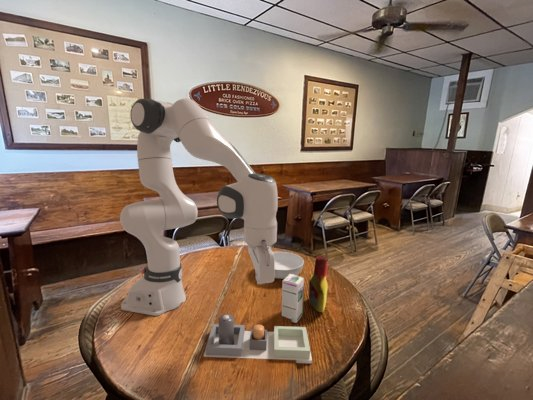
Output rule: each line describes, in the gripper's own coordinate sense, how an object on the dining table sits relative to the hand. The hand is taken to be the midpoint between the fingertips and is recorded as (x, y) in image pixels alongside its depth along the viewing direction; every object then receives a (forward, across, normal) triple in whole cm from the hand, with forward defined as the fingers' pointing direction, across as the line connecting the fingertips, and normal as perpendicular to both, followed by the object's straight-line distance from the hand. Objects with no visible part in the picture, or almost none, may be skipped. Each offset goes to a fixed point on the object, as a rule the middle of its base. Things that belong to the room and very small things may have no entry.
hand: (259, 281), depth 75 cm
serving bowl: (+21, +44, -19) cm, 52 cm away
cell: (+20, +2, +9) cm, 22 cm away
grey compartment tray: (+21, 0, 0) cm, 21 cm away
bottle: (+21, +16, -26) cm, 37 cm away
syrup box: (+21, +12, -14) cm, 28 cm away
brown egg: (+18, 0, 0) cm, 18 cm away
